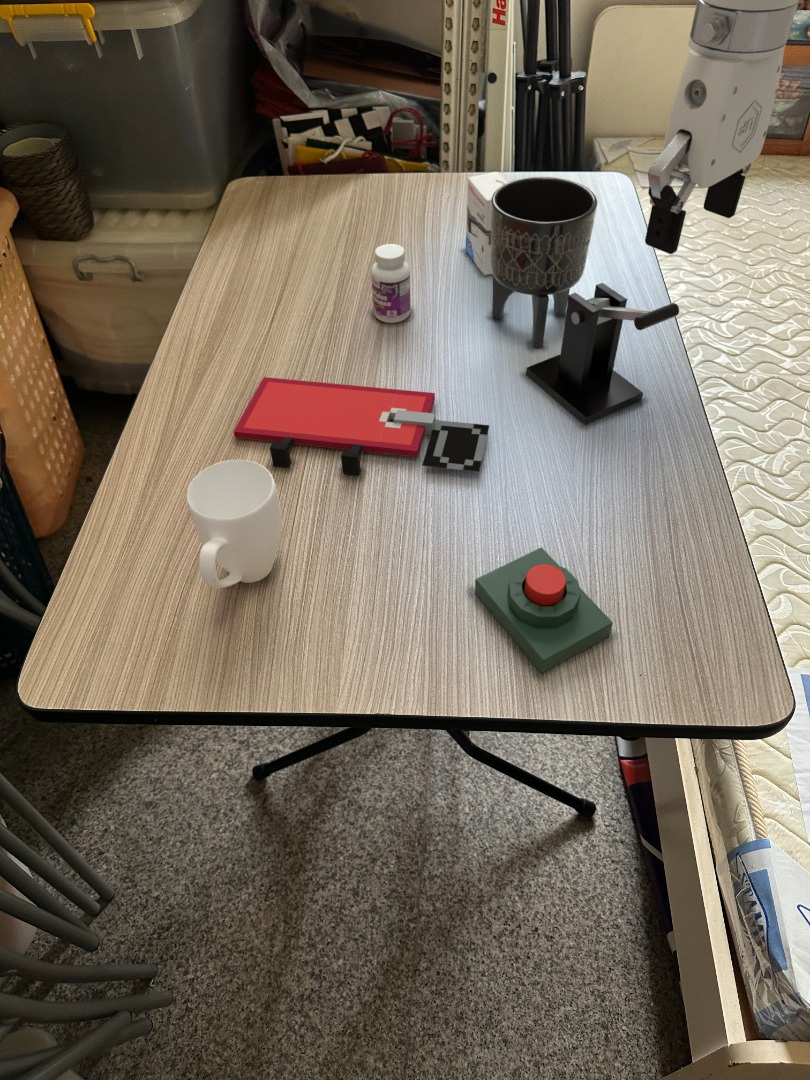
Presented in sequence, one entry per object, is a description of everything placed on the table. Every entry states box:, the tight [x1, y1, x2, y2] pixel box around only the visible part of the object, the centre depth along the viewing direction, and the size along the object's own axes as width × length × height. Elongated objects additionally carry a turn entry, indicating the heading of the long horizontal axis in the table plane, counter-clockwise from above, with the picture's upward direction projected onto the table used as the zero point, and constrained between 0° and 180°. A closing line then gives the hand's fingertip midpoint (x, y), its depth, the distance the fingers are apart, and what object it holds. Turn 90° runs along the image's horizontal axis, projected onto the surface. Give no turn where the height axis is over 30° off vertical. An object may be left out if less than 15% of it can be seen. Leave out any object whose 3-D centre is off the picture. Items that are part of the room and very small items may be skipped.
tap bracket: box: [525, 282, 644, 426], centre depth 95 cm, size 12×9×13 cm
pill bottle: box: [370, 243, 411, 324], centre depth 109 cm, size 5×5×10 cm
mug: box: [186, 459, 283, 589], centre depth 76 cm, size 12×8×11 cm
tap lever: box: [586, 297, 680, 331], centre depth 87 cm, size 12×5×2 cm, turn 30°
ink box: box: [465, 171, 509, 276], centre depth 117 cm, size 8×5×12 cm, turn 17°
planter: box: [491, 176, 598, 349], centre depth 103 cm, size 13×13×18 cm
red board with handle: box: [233, 376, 490, 477], centre depth 94 cm, size 30×3×15 cm
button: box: [525, 564, 566, 606], centre depth 73 cm, size 4×4×2 cm
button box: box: [474, 547, 614, 674], centre depth 75 cm, size 11×8×4 cm
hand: (689, 230), depth 76 cm, fingers open, 9 cm apart
